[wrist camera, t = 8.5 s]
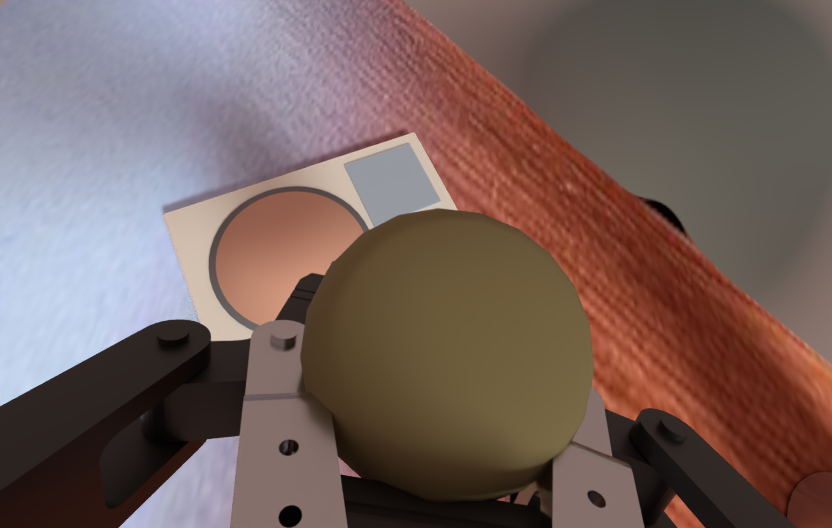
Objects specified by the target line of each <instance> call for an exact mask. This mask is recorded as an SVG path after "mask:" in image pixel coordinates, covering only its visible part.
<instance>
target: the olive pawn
mask: <svg viewBox="0 0 832 528" xmlns="http://www.w3.org/2000/svg"><path fill="white" fill-rule="evenodd" d="M300 360H301V366H302V372H303V378H304V384H305V390H306V392H311V393H312V394H313V395H315V396H316V397H317V399H318V400H319V401H320V402H322V403H323V404H324V405H325V406H326V407H327V408H328V409H329V410H330V411H331V412H332V420H333V427H334V434H335V441H336V448H337V455H338V457H339V458H340V459H342V460H343V461H344V462H345V463H346V464H347V465H348V466H349V467H350V468H351V469H352V470H354V471H355V472H356V473H357V474H358V475H359V476H360V477H361V478H364V479H370V480H376V481H381V482H384V483H386V484H389V485H391V486H394V487H396V488H398V489H401V490H403V491H405V492H408V493H410V494H413V495H415V496H417V497H420V498H422V499H424V500H427V501H429V502H432V503H448V502H458V501H484V500H489V499H492V500H498V499H500V498H503V497H506V496H509V495H512V494H514V493H517V492H520V491H523V490H525V489H526V488H528V487H529V486H530V485H531V484H532V483H533V482H535V481H536V480H537V479H538V478H539V477H540V476H542V474H543V473H544V471H545V470H546V468H547V466H548V465H549V463H550V461H551V460H552V458H553V457H554V456H556V455H558V454H559V453H561V452H563V450H564V449H565V448H566V446H567V445H568V444H569V442H570V441H572V439H573V438H574V436H575V434H576V432H577V431H578V429H579V427H580V425H581V424H582V422H583V420H584V418H585V414H586V409H587V404H588V399H589V394H590V389H591V384H592V379H593V374H594V364H593V354H592V343H591V333H590V324H589V322H588V319H587V317H586V314H585V312H584V309H583V306H582V304H581V301H580V299H579V296H578V294H577V291H576V289H575V286H574V285H573V283H572V282H571V281H570V279H569V278H568V277H567V275H566V274H565V273H564V271H563V270H562V269H561V267H560V266H559V265H558V263H557V262H556V261H555V259H554V258H553V257H552V255H551V254H550V253H549V252H547V251H546V250H545V249H544V248H542V247H541V246H540V245H539V244H537V243H536V242H535V241H533V240H532V239H531V238H530V237H528V236H527V235H526V234H524V233H523V232H522V231H521V230H519V229H517V228H515V227H512V226H510V225H508V224H505V223H503V222H500V221H498V220H496V219H493V218H491V217H489V216H486V215H484V214H480V213H475V212H467V211H458V210H450V209H442V208H436V209H430V210H424V211H419V212H413V213H407V214H401V215H398V216H396V217H394V218H392V219H390V220H388V221H386V222H384V223H382V224H380V225H378V226H376V227H374V228H372V229H370V230H368V231H366V232H364V233H362V234H361V235H360V236H359V237H358V238H357V239H356V240H355V241H354V242H353V243H352V244H351V245H350V246H349V247H348V248H347V249H346V250H345V251H344V252H343V253H342V254H341V255H340V256H339V257H338V258H337V259H336V260H335V261H334V262H333V263H332V264H331V266H330V267H329V268H328V270H327V272H326V274H325V275H324V277H323V279H322V281H321V283H320V285H319V287H318V289H317V291H316V293H315V295H314V297H313V299H312V301H311V303H310V305H309V307H308V309H307V313H306V320H305V327H304V333H303V340H302V346H301V353H300Z"/></svg>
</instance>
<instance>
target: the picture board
mask: <svg viewBox="0 0 832 528" xmlns="http://www.w3.org/2000/svg"><path fill="white" fill-rule="evenodd" d="M436 208H442V209H450V210H457V208H456V206H455V204H454V202H453V201H452V199H451V197H450V195H449V193H448V192H447V190H446V188H445V186H444V185H443V183H442V181H441V179H440V177H439V176H438V174H437V172H436V170H435V168H434V167H433V165H432V163H431V161H430V159H429V158H428V156H427V154H426V152H425V150H424V149H423V147H422V145H421V143H420V141H419V140H418V138H417V136H416V134H415V133H414V132H413V133H410V134H407V135H404V136H401V137H398V138H395V139H392V140H389V141H386V142H383V143H380V144H376V145H373V146H370V147H367V148H364V149H361V150H358V151H355V152H352V153H349V154H346V155H343V156H340V157H337V158H334V159H330V160H327V161H324V162H321V163H318V164H315V165H312V166H309V167H306V168H303V169H300V170H297V171H294V172H291V173H288V174H284V175H281V176H278V177H275V178H272V179H269V180H266V181H263V182H260V183H257V184H254V185H251V186H248V187H245V188H241V189H238V190H235V191H232V192H229V193H226V194H223V195H220V196H217V197H214V198H211V199H208V200H205V201H202V202H199V203H195V204H192V205H189V206H186V207H183V208H180V209H177V210H174V211H171V212H168V213H165V214H163V217H164V220H165V222H166V225H167V228H168V231H169V234H170V237H171V240H172V243H173V246H174V249H175V252H176V254H177V257H178V260H179V263H180V266H181V269H182V272H183V275H184V278H185V281H186V284H187V287H188V289H189V292H190V295H191V298H192V301H193V304H194V307H195V310H196V313H197V316H198V319H199V321H200V323H201V324H203V325H204V326H206V327H207V328H208V329H209V331H210V333H211V341H234V340H244V339H249V338H251V335H252V333H253V331H254V330H255V329H256V328H257V327H258V326H260V325H262V324H264V323H267V322H270V321H275V319H276V317H277V316H278V314H279V312H280V311H281V309H282V308H283V306H284V304H285V303H286V301H287V300H288V298H289V297H290V295H291V293H292V291H293V290H294V289H295V287H296V285H297V283H298V282H299V280H300V279H301V278H303V277H305V276H307V275H309V274H310V273H316V274H321V275H325V274H326V272H327V270H328V268H329V267H330V265H331V263H332V261H335V260H336V259H337V258H338V257H339V256H340V255H341V254H342V253H343V252H344V251H345V250H346V249H347V248H348V247H349V246H350V245H351V244H352V243H353V242H354V241H355V240H356V239H357V238H358V237H359V236H360V235H361V234H362V233H364V232H366V231H368V230H370V229H372V228H374V227H376V226H378V225H380V224H382V223H384V222H386V221H388V220H390V219H392V218H394V217H396V216H398V215H401V214H407V213H413V212H419V211H424V210H430V209H436ZM239 438H240V436H239Z"/></svg>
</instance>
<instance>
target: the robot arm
mask: <svg viewBox="0 0 832 528" xmlns="http://www.w3.org/2000/svg"><path fill="white" fill-rule="evenodd" d="M333 262H334V261H332V263H333ZM332 263H331V264H332ZM330 266H331V265H330ZM323 277H324V275H321V274H316V273H310V274H309V275H307V276H305V277H303V278H301V279H300V280H299V282H298V283H297V285H296V287H295V289H294V290H293V291H292V293H291V295H290V297H289V298H288V300H287V301H286V303H285V304H284V306H283V308H282V309H281V311H280V312H279V314H278V316H277V317H276V319H275V321H270V322H267V323H264V324H262V325H260V326H258V327H257V328H256V329H255V330H254V331H253V333H252V335H251V338H249V339H244V340H234V341H211V333H210V331H209V329H208V328H207V327H206V326H204V325H203V324H201V323H198V322H195V321H191V320H167V321H162V322H158V323H155V324H152V325H150V326H148V327H146V328H144V329H142V330H140V331H138V332H137V333H135V334H133V335H131V336H129V337H127V338H125V339H124V340H122V341H120V342H118V343H116V344H114V345H113V346H111V347H109V348H107V349H105V350H103V351H102V352H100V353H98V354H96V355H94V356H92V357H90V358H89V359H87V360H85V361H83V362H81V363H79V364H78V365H76V366H74V367H72V368H70V369H68V370H66V371H65V372H63V373H61V374H59V375H57V376H55V377H54V378H52V379H50V380H48V381H46V382H44V383H43V384H41V385H39V386H37V387H35V388H33V389H31V390H30V391H28V392H26V393H24V394H22V395H20V396H19V397H17V398H15V399H13V400H11V401H9V402H7V403H6V404H4V405H2V406H0V528H119V527H120V526H121V525H122V524H123V523H124V522H125V521H126V520H127V519H128V518H129V517H130V516H131V515H132V514H133V513H134V512H135V511H136V510H137V509H138V508H139V507H140V506H141V505H142V504H143V503H144V502H145V501H146V500H147V499H148V498H149V497H150V496H151V495H152V494H153V493H154V492H155V491H156V490H157V489H158V488H159V487H160V486H162V485H163V484H164V483H165V482H166V481H167V480H168V479H169V478H170V477H171V476H172V475H173V474H174V473H175V472H176V471H177V470H178V469H179V468H180V467H181V466H182V465H183V464H184V463H185V462H186V461H187V460H188V459H189V458H190V457H191V456H192V455H193V454H194V453H195V452H196V451H197V450H198V449H199V448H200V447H201V446H202V445H203V444H204V443H205V442H206V440H207V439H213V438H223V437H232V436H240V438H239V447H238V457H237V466H236V476H235V485H234V495H233V504H232V514H231V524H230V528H677V527H676V526H675V524H674V523H673V522H672V521H671V519H670V518H669V517H668V516H667V514H666V513H665V512H664V510H665V509H666V507H667V506H668V505H669V503H670V502H671V500H672V499H673V498H674V496H675V495H676V494H677V495H678V496H679V497H680V499H681V500H682V501H683V502H684V503H685V504H686V506H687V507H688V508H689V509H690V510H691V511H692V513H693V514H694V515H695V516H696V517H697V518H698V519H699V521H700V522H701V523H702V524H703V525H704V526H705V528H832V473H831V472H819V473H814V474H812V475H809V476H807V477H806V478H804V479H803V480H802V481H800V482H799V483H798V485H797V486H796V488H795V489H794V491H793V492H792V495H791V498H790V501H789V504H788V511H787V518H786V517H785V516H784V515H783V514H782V513H781V512H780V511H779V510H777V509H776V508H775V507H774V506H773V505H772V504H771V503H770V502H769V501H768V500H767V499H766V498H765V497H764V496H763V495H762V494H761V493H760V492H758V491H757V490H756V489H755V488H754V487H753V486H752V485H751V484H750V483H749V482H748V481H747V480H746V479H745V478H744V477H743V476H742V475H741V474H740V473H738V472H737V471H736V470H735V469H734V468H733V467H732V466H731V465H730V464H729V463H728V462H727V461H726V460H725V459H724V458H723V457H722V456H721V455H719V454H718V453H717V452H716V451H715V450H714V449H713V448H712V447H711V446H710V445H709V444H708V443H707V442H706V441H705V440H704V439H703V438H702V437H700V436H699V435H698V434H697V433H696V432H695V431H694V430H693V429H692V428H691V427H690V426H688V425H687V424H686V423H685V422H683V421H682V420H680V419H679V418H677V417H675V416H673V415H671V414H669V413H667V412H664V411H661V410H658V409H652V408H648V409H644V410H642V411H641V412H640V414H639V415H638V417H637V419H636V420H635V421H633V420H631V419H628V418H626V417H623V416H621V415H618V414H616V413H614V412H611V411H609V410H607V409H604V403H603V400H602V398H601V396H600V395H599V393H598V392H597V391H596V390H595V389H594V388H593V387H592V386H591V389H590V394H589V399H588V404H587V409H586V414H585V418H584V420H583V422H582V424H581V425H580V427H579V429H578V431H577V432H576V434H575V436H574V438H573V439H572V441H570V442H569V444H568V445H567V446H566V448H565V449H564V450H563V452H561V453H559V454H558V455H556V456H554V457H553V458H552V460H551V461H550V463H549V465H548V466H547V468H546V470H545V471H544V473H543V474H542V476H540V477H539V478H538V479H537V480H536V481H535V482H533V483H532V484H531V485H530V486H529V487H528V488H526V489H525V490H523V491H520V492H517V493H514V494H512V495H509V496H506V497H505V502H504V501H498V500H492V499H489V500H484V501H458V502H448V503H432V502H429V501H427V500H424V499H422V498H420V497H417V496H415V495H413V494H410V493H408V492H405V491H403V490H401V489H398V488H396V487H394V486H391V485H389V484H386V483H384V482H381V481H376V480H370V479H364V478H358V477H352V476H346V475H340V469H339V462H338V455H337V448H336V441H335V434H334V427H333V420H332V412H331V411H330V410H329V409H328V408H327V407H326V406H325V405H324V404H323V403H322V402H320V401H319V400H318V399H317V397H316V396H315V395H313V394H312V393H311V392H306V390H305V384H304V378H303V372H302V366H301V360H300V353H301V346H302V340H303V333H304V327H305V320H306V313H307V309H308V307H309V305H310V303H311V301H312V299H313V297H314V295H315V293H316V291H317V289H318V287H319V285H320V283H321V281H322V279H323Z"/></svg>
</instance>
